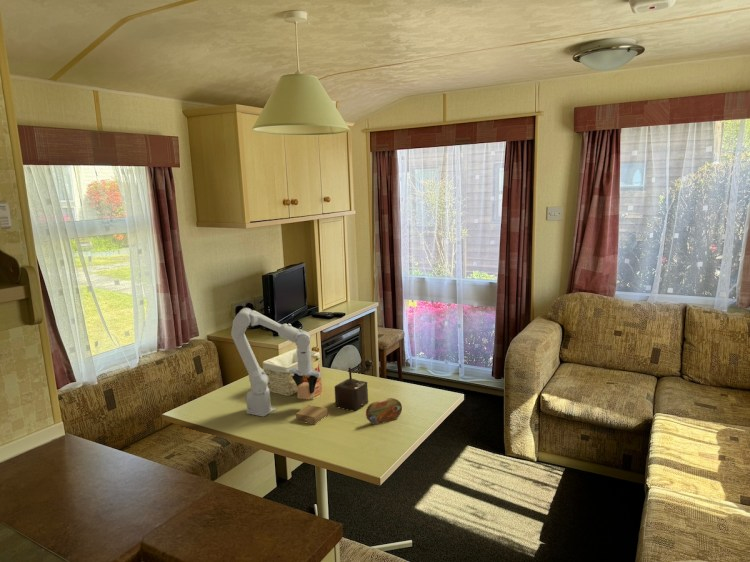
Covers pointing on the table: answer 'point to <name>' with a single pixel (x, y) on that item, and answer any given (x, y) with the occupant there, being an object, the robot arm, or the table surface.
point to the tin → (383, 410)
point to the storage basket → (283, 372)
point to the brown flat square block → (311, 414)
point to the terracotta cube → (304, 391)
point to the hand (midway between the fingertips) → (306, 391)
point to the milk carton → (319, 382)
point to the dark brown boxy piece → (352, 391)
